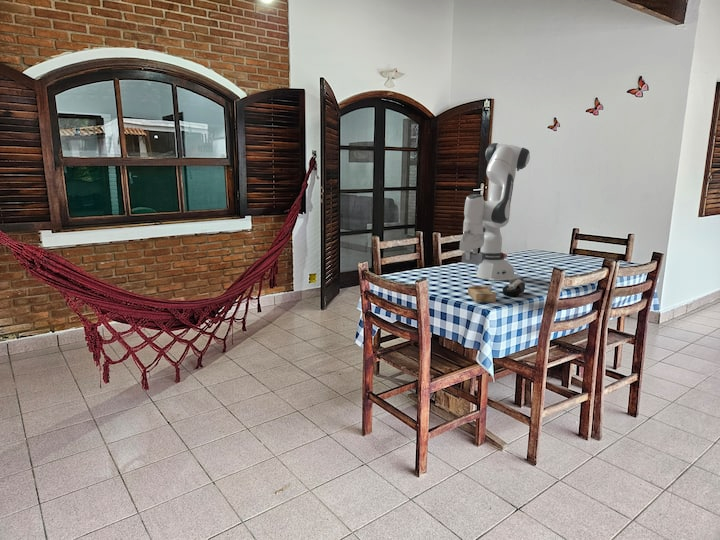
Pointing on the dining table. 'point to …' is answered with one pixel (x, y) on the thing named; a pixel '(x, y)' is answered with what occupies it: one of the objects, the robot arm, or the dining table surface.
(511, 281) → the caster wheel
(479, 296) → the stand
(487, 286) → the bushing
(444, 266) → the dining table surface
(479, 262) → the housing
